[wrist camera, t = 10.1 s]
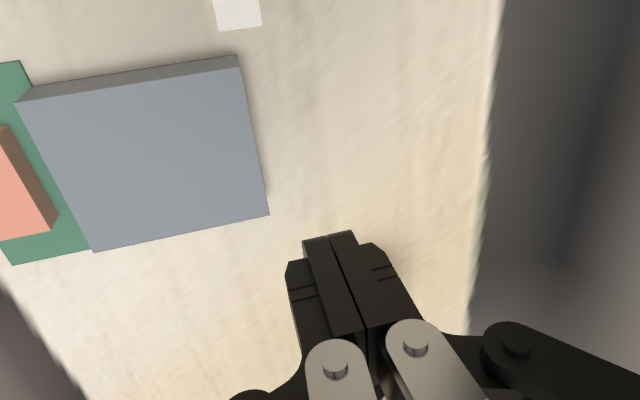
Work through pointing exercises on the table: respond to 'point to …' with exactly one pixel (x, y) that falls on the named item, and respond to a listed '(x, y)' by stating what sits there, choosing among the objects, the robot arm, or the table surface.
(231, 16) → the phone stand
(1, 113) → the mat
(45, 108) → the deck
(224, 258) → the table surface
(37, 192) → the pink slab
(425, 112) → the table surface
